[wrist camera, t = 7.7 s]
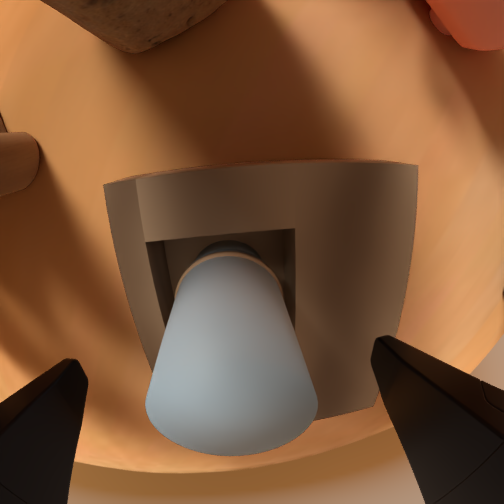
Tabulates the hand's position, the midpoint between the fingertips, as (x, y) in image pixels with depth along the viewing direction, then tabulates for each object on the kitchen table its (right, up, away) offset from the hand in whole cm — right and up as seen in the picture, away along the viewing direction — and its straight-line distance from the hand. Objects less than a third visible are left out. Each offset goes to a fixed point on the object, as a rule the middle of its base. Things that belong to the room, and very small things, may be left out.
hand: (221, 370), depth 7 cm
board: (+2, +1, +7) cm, 7 cm away
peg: (0, +2, +6) cm, 6 cm away
